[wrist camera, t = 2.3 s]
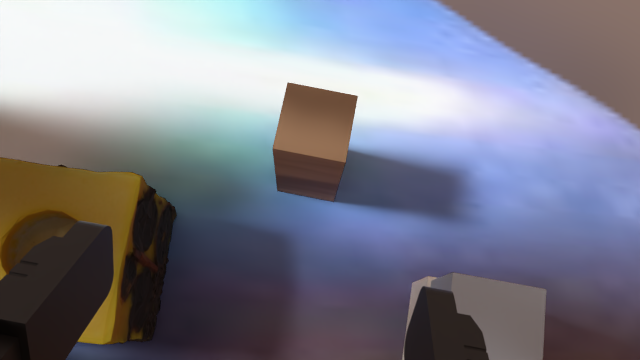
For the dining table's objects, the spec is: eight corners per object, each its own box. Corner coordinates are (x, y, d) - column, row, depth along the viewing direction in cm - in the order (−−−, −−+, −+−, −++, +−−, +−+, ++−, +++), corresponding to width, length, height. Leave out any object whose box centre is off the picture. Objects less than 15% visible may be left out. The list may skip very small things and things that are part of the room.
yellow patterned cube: (48, 192, 41) (-26, 149, 31) (179, 206, 41) (145, 167, 32) (14, 329, 38) (-79, 327, 28) (155, 342, 38) (110, 346, 29)
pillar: (333, 201, 42) (345, 162, 32) (277, 190, 42) (272, 148, 32) (343, 148, 43) (357, 95, 33) (288, 138, 43) (287, 82, 33)
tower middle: (506, 381, 34) (541, 389, 29) (421, 366, 34) (442, 371, 29) (512, 295, 36) (546, 289, 31) (431, 280, 36) (452, 272, 31)
